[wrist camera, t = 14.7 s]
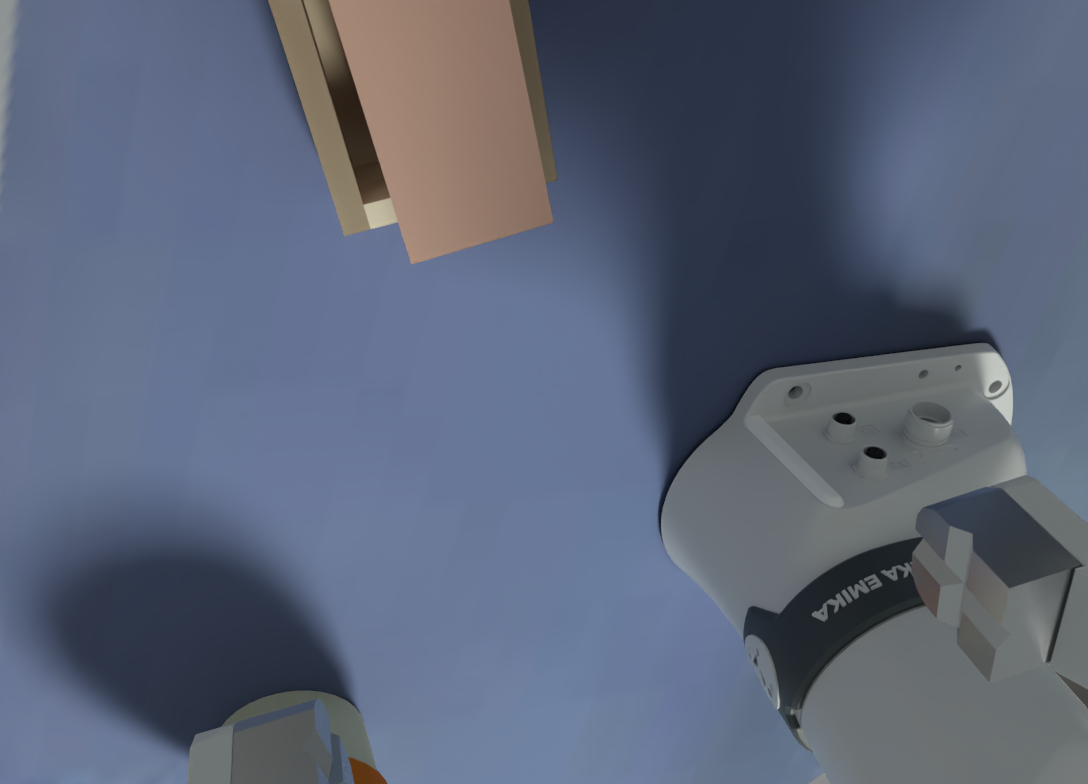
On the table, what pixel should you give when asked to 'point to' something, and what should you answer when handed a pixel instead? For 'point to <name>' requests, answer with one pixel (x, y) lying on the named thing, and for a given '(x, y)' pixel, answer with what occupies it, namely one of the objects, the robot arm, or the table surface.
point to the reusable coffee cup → (341, 721)
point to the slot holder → (341, 116)
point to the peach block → (447, 118)
